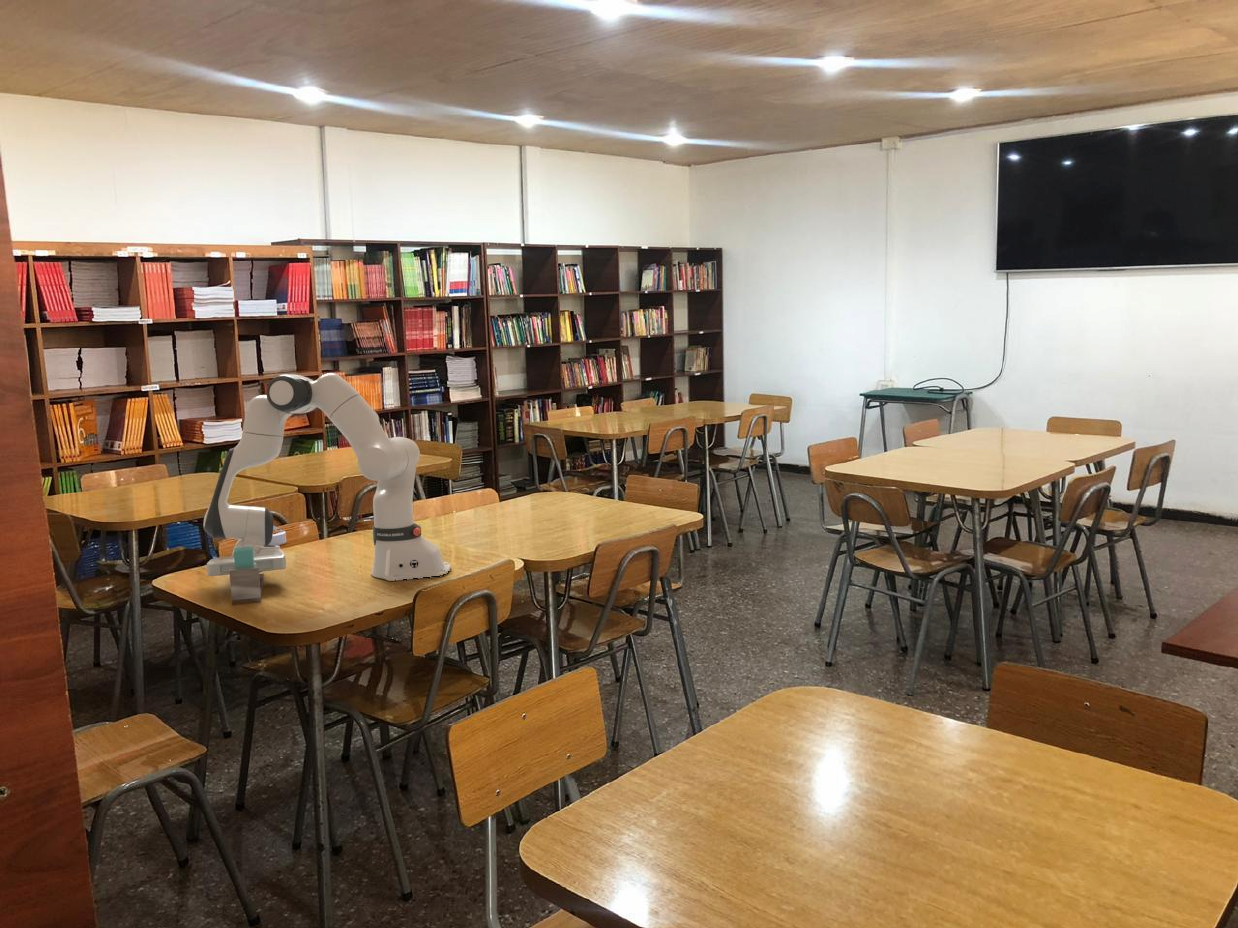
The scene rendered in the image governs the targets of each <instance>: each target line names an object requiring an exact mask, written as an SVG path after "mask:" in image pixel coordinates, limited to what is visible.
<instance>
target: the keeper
mask: <svg viewBox="0 0 1238 928" xmlns="http://www.w3.org/2000/svg"><path fill="white" fill-rule="evenodd" d="M233 549H234V548H233ZM234 561H235V569H240V568H250V567H254V555H253V546H251V547H239V548H235V549H234Z"/></svg>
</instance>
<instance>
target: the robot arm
mask: <svg viewBox="0 0 1238 928" xmlns="http://www.w3.org/2000/svg"><path fill="white" fill-rule="evenodd" d="M265 393H266V394H260V395H257V396H254V397H253V398H252V399H251V400H250V401H249V403H248V406H247V409H246V413H245V417H244V422H243V426H242V434H241V437H240V440H239V441H238V444H237V445H235V446H234V447H233V448H232V447H231V448H229V450H228V451H227V453H226V456H225V457H224V461H223V464H222V467H221V470H220V473H219V476H218V478H217V482H216V485H215V489H214V492H213V496H212V499H211V502H210V504H209V505H208V508H207V510H206V512H205V514H204V517H203V530H204V531H205V533H206V534H207V535H208V536H209V537H211V538H212V539H215V540H216V539H217V540H218V539H219V540H220V539H232V540H233V539H235V540H237V542H236V543H235V545H234V547H233V551H232V553H231V556H222V557H221V556H220V557H214V558H212V559H210V560H209V561H208V562H207V563H206V573H207V576H208V577H218V576H228V575H229V576H230V573H229V571H230V569H235V561H234V549H235V548H239V547H251V546H253V555H254V567H259V574H261V573H262V572H269V571H276V570H277V571H278V570H285V569H287V559H286V554H285V551H284V550H282V549H281V546H280V545H269V544H270V543H271V540H272V535H273V525H274V516H273V514H272V513H271V511H270V510H269V509H268V508H267V507H263V506H262V507H261V506H255V505H253V506H252V505H239V504H238V505H237V504H230V503H228V499H229V496H230V491H231V488H232V485H233V484H234V483H233V482H234V480H235V477H236V475H238V474H239V473H240V472H241V471H244V470H246V469H250V468H251V469H252V468H253V467H259V466H262V465H265V464H268V463H270V462H272V461H274V460H275V459H276V458H277V457H278V456H279V455H280V453H281V450H282V446H283V442H284V436H285V434H284V433H285V426H286V422H287V419H288V418H289V417H290V416H300V415H305V414H306V415H307V414H311V413H313V412H315V411H317V410H320V411H322V412H323V413H324V415H325V416H327V418H328V419H329V420H330V422H331V423H332V424H333V425H334V426H335V427H336V428H337V430H338V431H339V432H340V433H341V434H342V436H343V437H344V438H345V439H346V440H347V442H348V444H349V445H350V447H351V448H352V450H353V452H354V454H355V456H356V459H357V466H358V469H359V472H360V473H361V475H362V476H363V477H364V478H365V479H368V480H369V481H374V482H375V481H376V482H377V486H376V490H375V493H374V495H373V498H372V507H373V508H372V509H373V511H372V512H373V523H374V524H373V525H374V526H372V540H373V545H374V557H373V563H372V564H373V565H372V570H371V574H370V575H372V577H374V578H378V579H383V580H386V581H390V582H394V581H395V580H396V581H404V580H403V579H407V580H414V579H413V578H418V579H424V578H423V577H430V578H432V577H431V576H438V575H443V574H445V573H447V572H448V571H449V570H450V567H451V564H450V562H447V561H444V560H443V555H442V552H441V549H440V547H439V546H438V545H436V544H434V543H433V542H431V541H430V540H428V539H426V538H425V537H424V536H422V525H421V524H419V525H418V524H417V523H416V522H414V506H413V504H414V503H413V501H414V500H413V498H414V496H413V494H414V485H415V479H416V473H417V465H418V463H419V460H420V457H421V451H420V448H419V446H418V444H417V443H416V442H415V441H414V440H412V439H410V438H407V437H404V436H394V437H389V436H388V435H387V434H386V432H385V430H384V429H383V427H382V425H381V423H380V417H379V414H378V413H377V412H376V411H375V410H374V409H373V407H372V406H371V405H370V404H369V403H368V402H367V401H366V400H365V398H364V397H363V396H362V395H361V394H360V393H359V392H358V390H357V389H355V387H354V386H352V385H351V384H350V383H349V382H348V380H345V378H343V376H340V375H339V374H337V373H334V372H328V373H325V374H323V375H321V376H319V377H318V378H317V379H316V380H315V379H314V378H312V377H308V376H303V375H300V374H289V373H285V374H284V373H283V374H280V375H278V376H275V377H274V378H272V379H271V380H270V381H269V383H268V384H267V386H266V391H265ZM451 568H452V567H451ZM450 571H451V570H450Z"/></svg>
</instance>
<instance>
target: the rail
mask: <svg viewBox="0 0 1238 928" xmlns="http://www.w3.org/2000/svg"><path fill="white" fill-rule="evenodd" d="M229 573H230V575H229V582H230V594H231V605H232V606H236V605H245V604H252V603H253V604H254V603H261V602H262V597H263V587H264V579H265V578H264V573H259V567H250V568H240V569H230V571H229Z"/></svg>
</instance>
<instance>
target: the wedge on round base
mask: <svg viewBox="0 0 1238 928" xmlns="http://www.w3.org/2000/svg"><path fill="white" fill-rule="evenodd" d="M277 529H280V530H277ZM273 530H275V531H280V532H278V533H276V534H273V535H272V540H271V543H270V544H269V545H278V546H280V545H284V544H286V543H287V534H286V531H285V530H283V529H282V528H279V527H277V526H275V525H274V524H273Z"/></svg>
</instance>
